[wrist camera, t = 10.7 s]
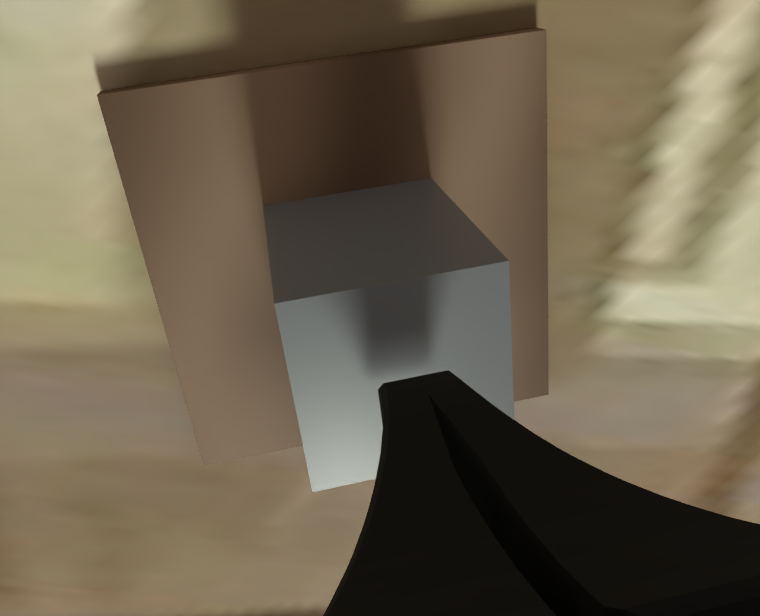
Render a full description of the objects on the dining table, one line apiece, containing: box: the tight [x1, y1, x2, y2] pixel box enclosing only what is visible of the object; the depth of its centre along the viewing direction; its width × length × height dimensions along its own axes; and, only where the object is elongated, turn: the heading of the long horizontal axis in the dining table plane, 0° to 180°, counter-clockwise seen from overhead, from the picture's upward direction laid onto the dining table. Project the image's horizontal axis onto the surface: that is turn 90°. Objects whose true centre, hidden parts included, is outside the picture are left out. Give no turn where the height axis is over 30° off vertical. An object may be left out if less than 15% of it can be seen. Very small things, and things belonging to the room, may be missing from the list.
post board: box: [97, 28, 548, 466], centre depth 17 cm, size 11×11×6 cm
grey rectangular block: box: [263, 178, 514, 492], centre depth 17 cm, size 4×4×6 cm
